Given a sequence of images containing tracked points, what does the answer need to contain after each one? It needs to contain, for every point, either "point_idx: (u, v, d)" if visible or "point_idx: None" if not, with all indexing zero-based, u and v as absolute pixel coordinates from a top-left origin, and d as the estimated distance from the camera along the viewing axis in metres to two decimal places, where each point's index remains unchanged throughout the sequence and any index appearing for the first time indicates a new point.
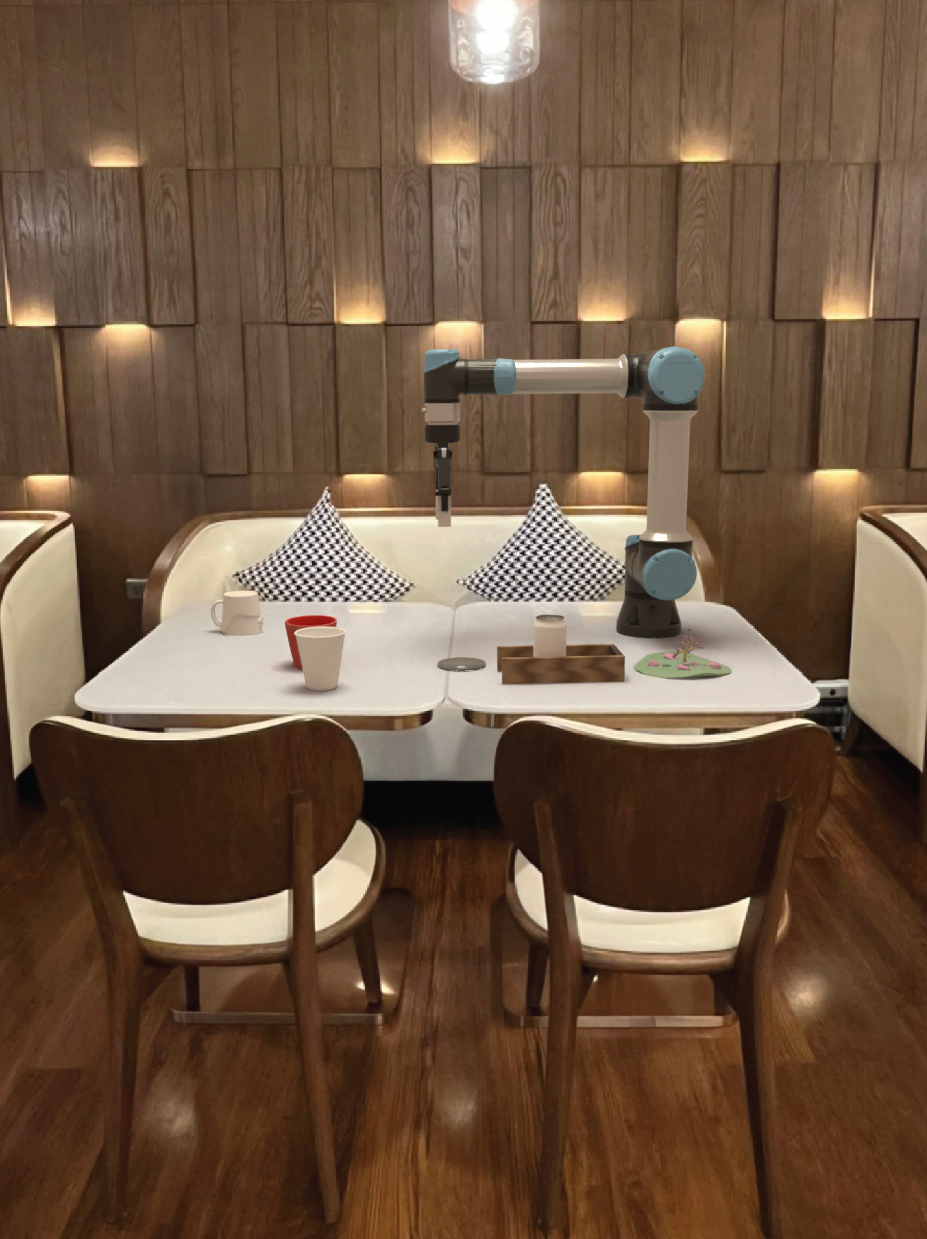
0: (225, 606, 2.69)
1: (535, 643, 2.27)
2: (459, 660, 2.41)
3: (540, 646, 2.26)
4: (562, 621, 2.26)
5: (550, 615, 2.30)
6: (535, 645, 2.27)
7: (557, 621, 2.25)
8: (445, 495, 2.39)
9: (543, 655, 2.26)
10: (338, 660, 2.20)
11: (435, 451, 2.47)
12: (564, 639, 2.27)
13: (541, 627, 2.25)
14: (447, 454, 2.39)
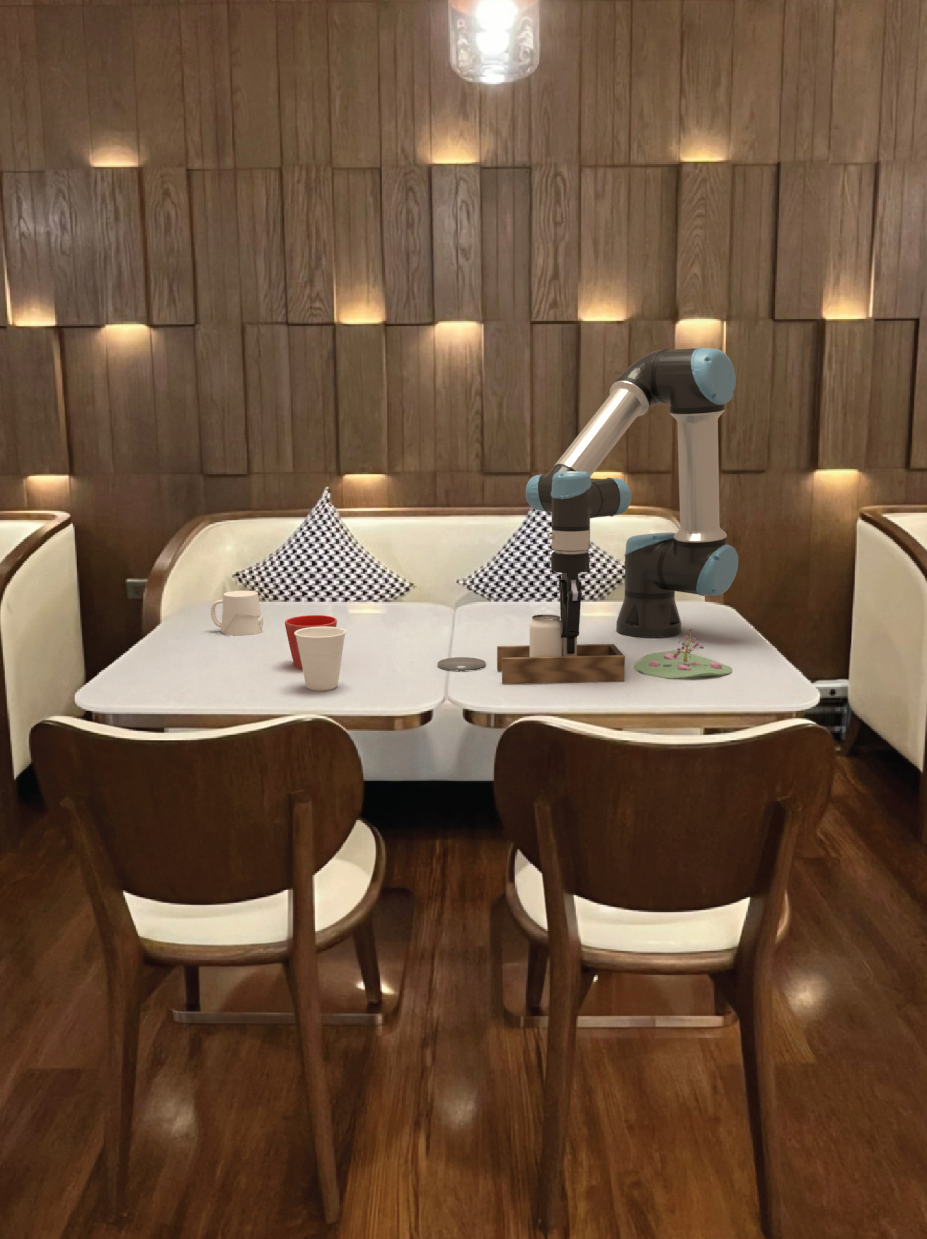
0: (225, 606, 2.69)
1: (530, 642, 2.27)
2: (459, 660, 2.41)
3: (535, 646, 2.26)
4: (558, 621, 2.26)
5: (547, 615, 2.30)
6: (531, 645, 2.27)
7: (553, 621, 2.25)
8: (572, 637, 2.26)
9: (539, 655, 2.26)
10: (338, 660, 2.20)
11: None
12: (560, 639, 2.27)
13: (536, 627, 2.25)
14: (578, 599, 2.21)
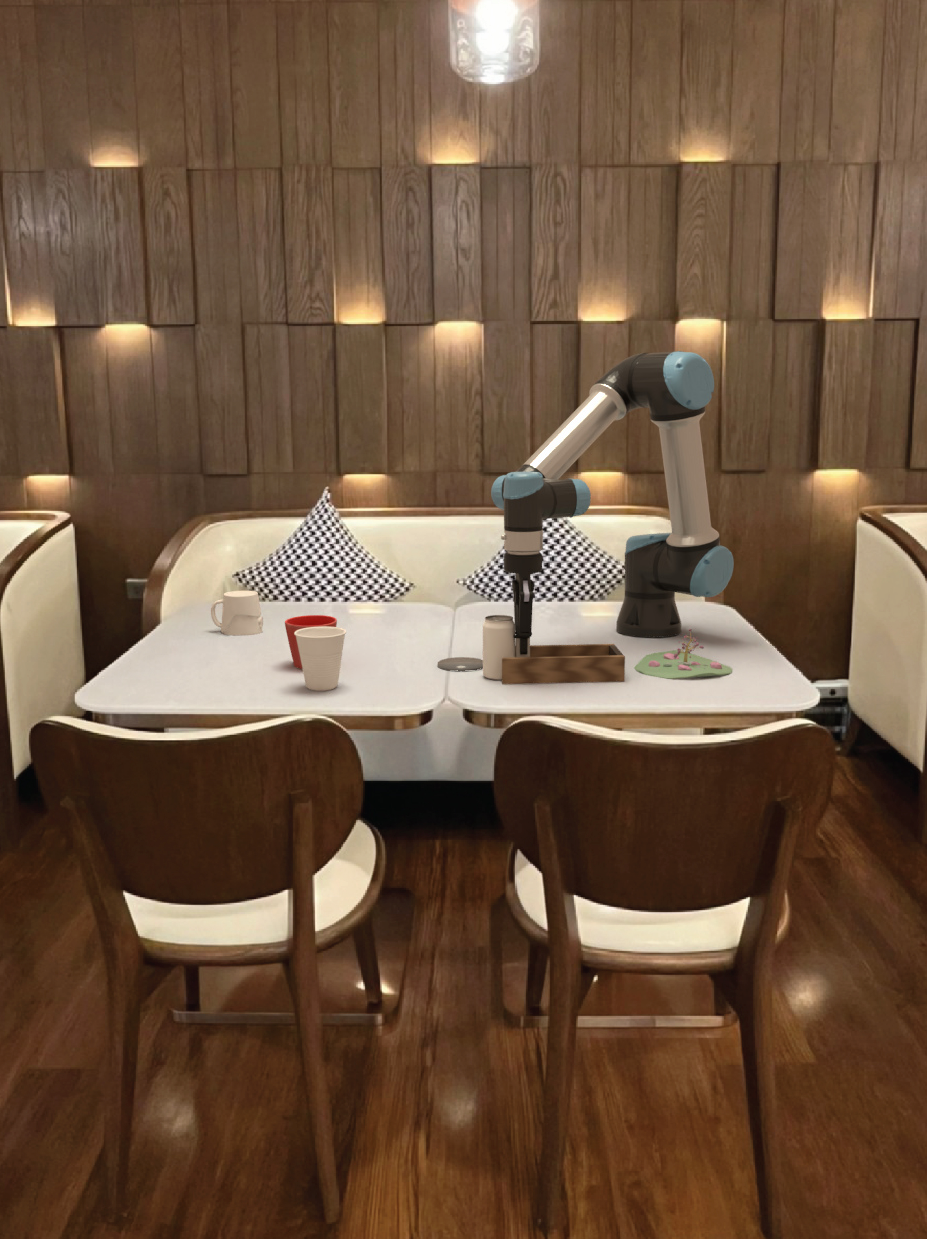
0: (225, 606, 2.69)
1: (483, 643, 2.27)
2: (459, 660, 2.41)
3: (487, 647, 2.26)
4: (510, 622, 2.26)
5: (501, 616, 2.30)
6: (483, 645, 2.27)
7: (504, 622, 2.25)
8: (525, 638, 2.26)
9: (490, 655, 2.26)
10: (338, 660, 2.20)
11: (514, 580, 2.27)
12: (512, 640, 2.26)
13: (487, 627, 2.25)
14: (530, 599, 2.21)
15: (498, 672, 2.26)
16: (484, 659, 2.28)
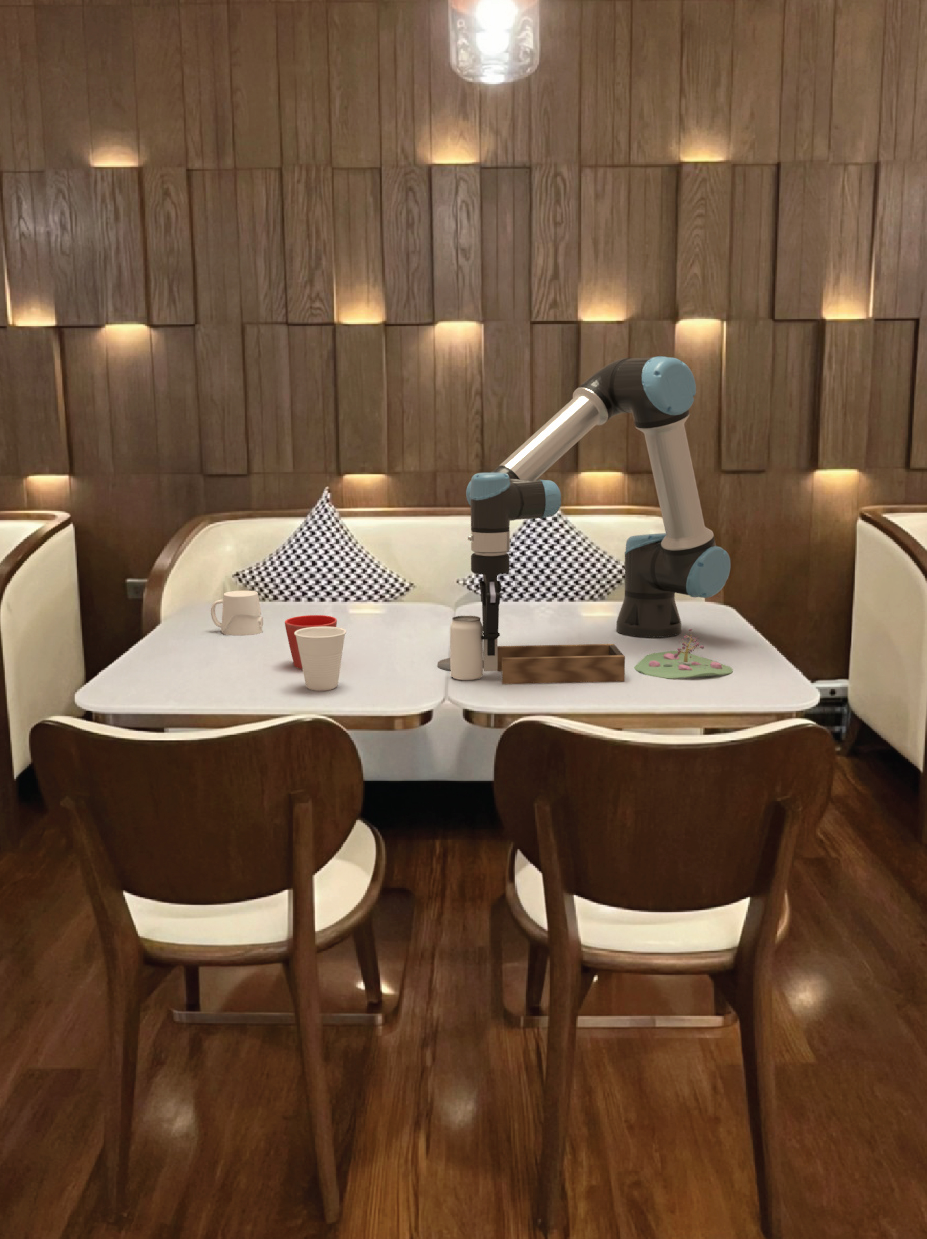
0: (225, 606, 2.69)
1: (450, 643, 2.27)
2: None
3: (454, 647, 2.26)
4: (476, 622, 2.25)
5: (469, 616, 2.29)
6: (450, 646, 2.27)
7: (470, 622, 2.24)
8: (492, 639, 2.25)
9: (457, 656, 2.26)
10: (338, 660, 2.20)
11: (482, 581, 2.27)
12: (479, 641, 2.26)
13: (454, 628, 2.25)
14: (496, 600, 2.20)
15: (465, 672, 2.26)
16: (451, 659, 2.27)
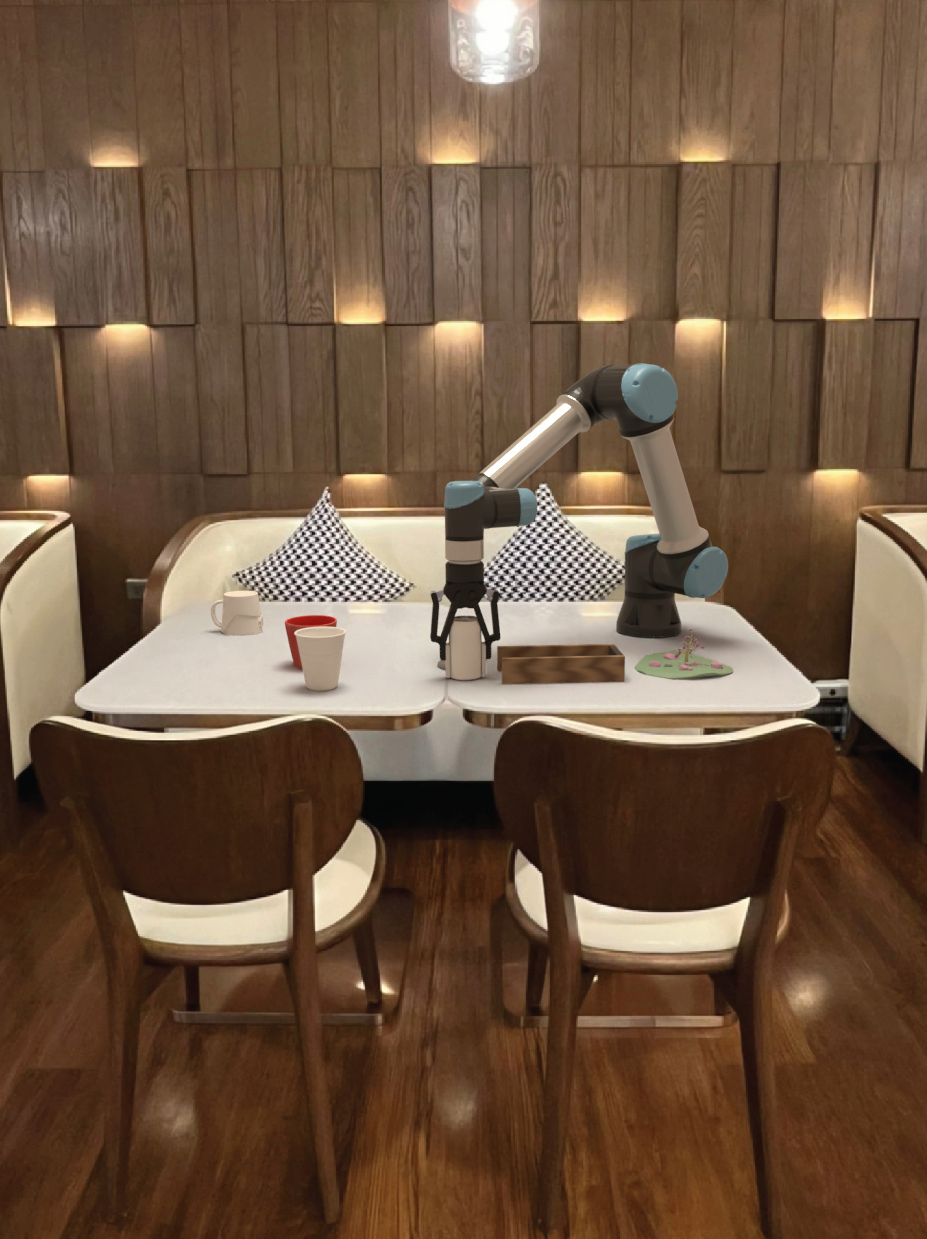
0: (225, 606, 2.69)
1: (449, 643, 2.27)
2: None
3: (452, 647, 2.26)
4: (475, 623, 2.25)
5: (468, 616, 2.29)
6: None
7: (469, 622, 2.24)
8: (438, 643, 2.27)
9: (455, 656, 2.26)
10: (338, 660, 2.20)
11: None
12: (477, 641, 2.26)
13: (453, 628, 2.25)
14: None
15: (464, 672, 2.26)
16: (450, 660, 2.27)
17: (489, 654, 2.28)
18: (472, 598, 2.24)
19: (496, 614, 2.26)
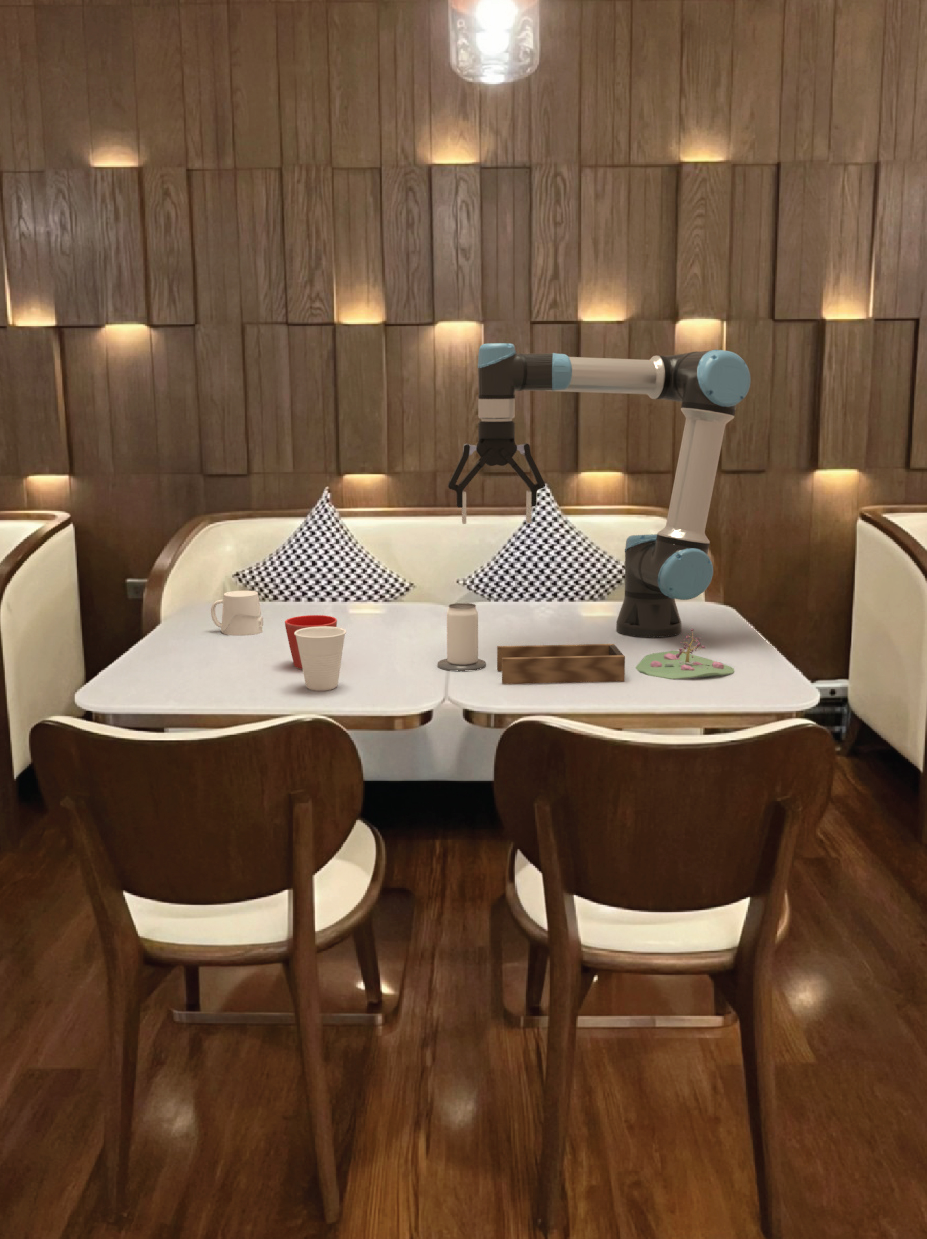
0: (225, 606, 2.69)
1: (447, 629, 2.37)
2: None
3: (450, 633, 2.36)
4: (472, 609, 2.35)
5: (466, 604, 2.39)
6: (447, 632, 2.37)
7: (466, 609, 2.34)
8: None
9: (452, 641, 2.36)
10: (338, 660, 2.20)
11: None
12: (474, 627, 2.35)
13: (450, 615, 2.35)
14: (463, 450, 2.37)
15: (460, 657, 2.36)
16: (447, 645, 2.37)
17: (534, 501, 2.40)
18: (504, 455, 2.37)
19: (533, 464, 2.38)
